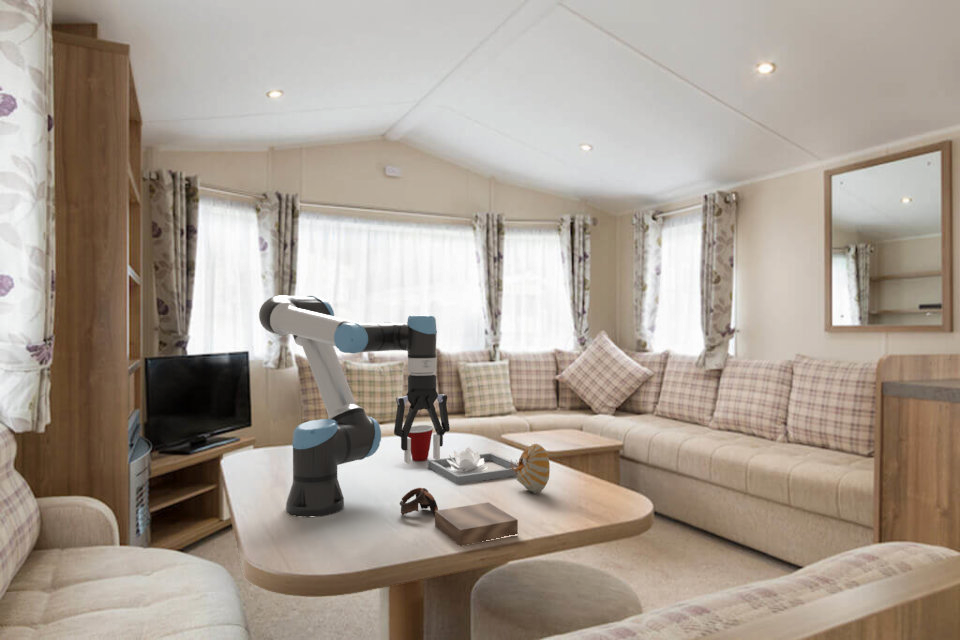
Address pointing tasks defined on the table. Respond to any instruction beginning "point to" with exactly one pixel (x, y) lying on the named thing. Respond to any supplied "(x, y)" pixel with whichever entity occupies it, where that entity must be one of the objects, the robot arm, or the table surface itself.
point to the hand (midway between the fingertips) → (422, 460)
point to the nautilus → (533, 468)
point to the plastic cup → (420, 441)
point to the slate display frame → (467, 478)
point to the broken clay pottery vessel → (418, 501)
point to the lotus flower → (467, 462)
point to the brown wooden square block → (475, 523)
